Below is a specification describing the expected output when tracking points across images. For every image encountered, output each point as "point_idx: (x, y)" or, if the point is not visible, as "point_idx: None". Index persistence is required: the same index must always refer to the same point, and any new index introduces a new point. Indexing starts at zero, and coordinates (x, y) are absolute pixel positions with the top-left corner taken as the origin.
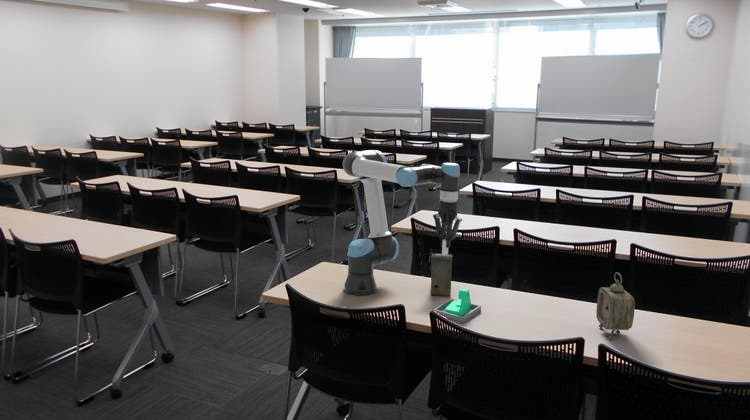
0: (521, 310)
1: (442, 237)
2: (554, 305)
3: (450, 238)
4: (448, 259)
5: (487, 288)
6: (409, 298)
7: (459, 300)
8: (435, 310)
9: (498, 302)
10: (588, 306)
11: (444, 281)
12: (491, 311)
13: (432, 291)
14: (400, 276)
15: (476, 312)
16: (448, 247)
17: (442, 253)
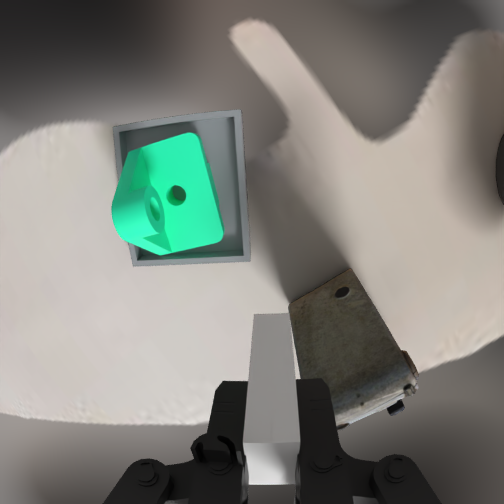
0: (80, 331)
1: (313, 474)
2: (69, 390)
3: (152, 476)
4: None
5: None
6: (398, 198)
7: (216, 261)
8: (229, 110)
9: (150, 349)
10: (42, 407)
11: (317, 322)
12: (119, 278)
13: (348, 275)
14: (478, 333)
15: None
16: (221, 387)
17: (281, 320)
